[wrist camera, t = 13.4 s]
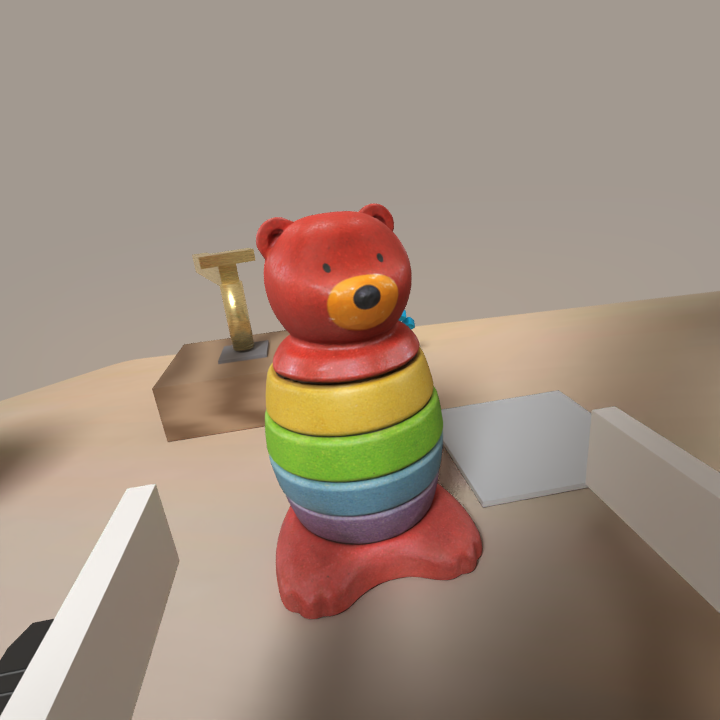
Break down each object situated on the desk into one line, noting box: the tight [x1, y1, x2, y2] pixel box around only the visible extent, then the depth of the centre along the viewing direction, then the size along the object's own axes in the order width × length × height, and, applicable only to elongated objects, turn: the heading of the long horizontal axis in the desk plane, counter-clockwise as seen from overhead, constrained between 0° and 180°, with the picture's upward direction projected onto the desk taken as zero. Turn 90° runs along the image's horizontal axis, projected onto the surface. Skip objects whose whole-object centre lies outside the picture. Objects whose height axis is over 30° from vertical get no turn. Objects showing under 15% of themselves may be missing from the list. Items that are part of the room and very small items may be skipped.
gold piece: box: [192, 248, 255, 351], centre depth 47 cm, size 15×5×9 cm, turn 29°
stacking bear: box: [256, 204, 482, 619], centre depth 23 cm, size 11×10×18 cm
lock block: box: [152, 330, 290, 442], centre depth 44 cm, size 14×12×5 cm
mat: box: [441, 390, 592, 507], centre depth 33 cm, size 12×12×1 cm
